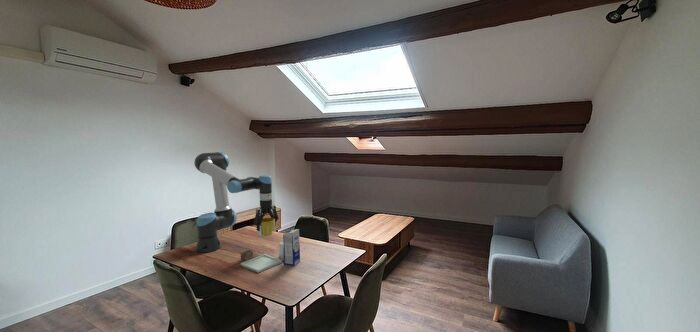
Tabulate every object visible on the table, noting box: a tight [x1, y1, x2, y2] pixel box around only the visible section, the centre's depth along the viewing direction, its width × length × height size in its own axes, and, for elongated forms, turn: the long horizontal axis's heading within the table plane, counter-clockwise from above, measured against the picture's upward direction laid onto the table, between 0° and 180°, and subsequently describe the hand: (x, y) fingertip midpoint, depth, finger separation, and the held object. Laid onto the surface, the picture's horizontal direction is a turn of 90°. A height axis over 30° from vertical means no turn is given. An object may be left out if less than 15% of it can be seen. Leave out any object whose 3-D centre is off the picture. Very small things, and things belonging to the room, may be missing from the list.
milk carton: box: [282, 228, 301, 267], centre depth 169 cm, size 7×7×20 cm
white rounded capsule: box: [277, 241, 284, 261], centre depth 178 cm, size 7×7×9 cm
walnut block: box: [240, 249, 254, 262], centre depth 177 cm, size 5×5×5 cm
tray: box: [240, 253, 283, 274], centre depth 170 cm, size 17×17×2 cm
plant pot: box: [260, 217, 275, 237], centre depth 187 cm, size 10×10×10 cm
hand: (266, 233), depth 187 cm, fingers closed on plant pot, 10 cm apart
